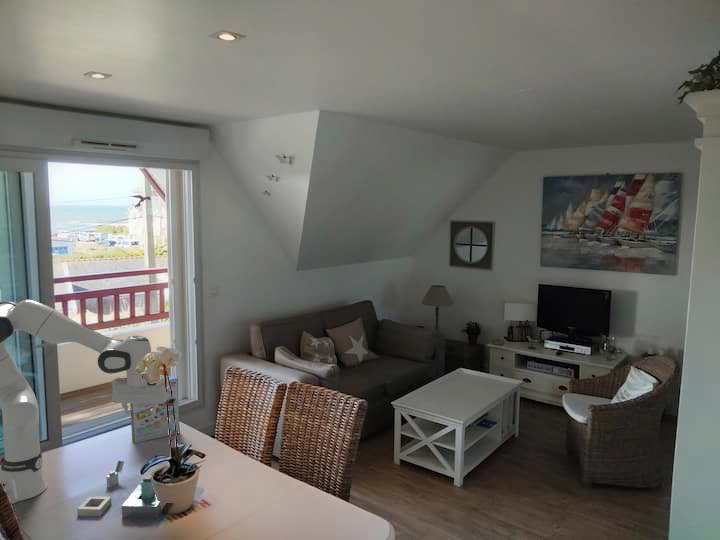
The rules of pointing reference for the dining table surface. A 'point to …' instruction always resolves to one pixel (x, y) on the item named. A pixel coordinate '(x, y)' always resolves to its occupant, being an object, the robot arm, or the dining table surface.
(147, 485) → the plug
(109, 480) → the lighter
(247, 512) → the dining table surface
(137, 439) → the game box
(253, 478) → the dining table surface
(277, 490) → the dining table surface
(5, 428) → the robot arm
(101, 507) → the cream square frame
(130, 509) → the panel
